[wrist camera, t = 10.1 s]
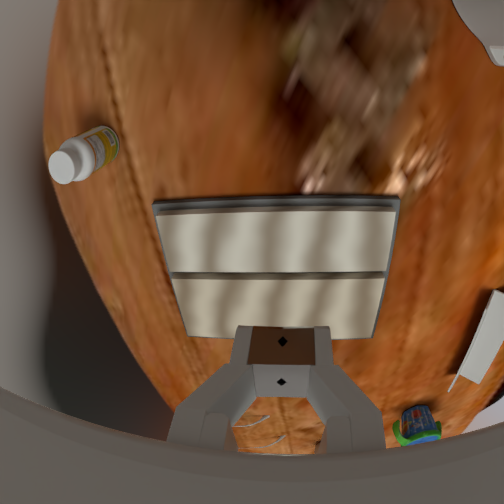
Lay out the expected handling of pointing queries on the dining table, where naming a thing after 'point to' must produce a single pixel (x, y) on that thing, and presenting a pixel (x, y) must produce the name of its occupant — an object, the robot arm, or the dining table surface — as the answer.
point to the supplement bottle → (84, 155)
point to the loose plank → (279, 301)
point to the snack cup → (417, 427)
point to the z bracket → (484, 340)
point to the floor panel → (278, 235)
